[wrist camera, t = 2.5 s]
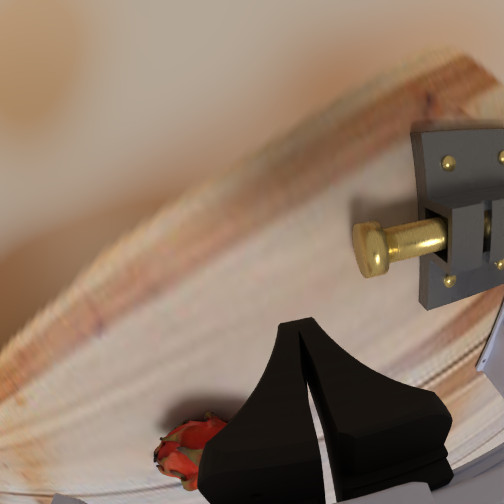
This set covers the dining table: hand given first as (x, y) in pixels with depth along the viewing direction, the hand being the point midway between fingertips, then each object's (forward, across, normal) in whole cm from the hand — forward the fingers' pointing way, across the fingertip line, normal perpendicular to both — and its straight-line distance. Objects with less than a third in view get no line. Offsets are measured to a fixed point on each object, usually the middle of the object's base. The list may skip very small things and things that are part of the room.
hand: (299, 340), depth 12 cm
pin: (+9, -11, 0) cm, 14 cm away
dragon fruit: (+10, +10, +17) cm, 22 cm away
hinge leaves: (+10, -16, 0) cm, 18 cm away
